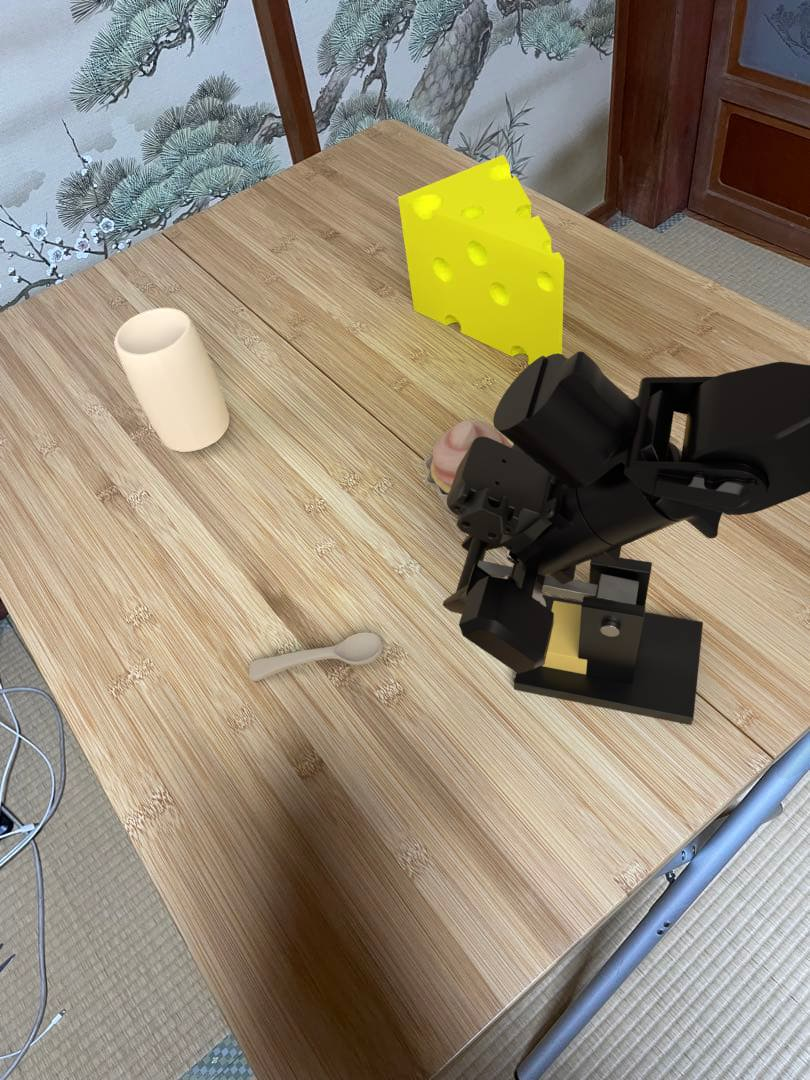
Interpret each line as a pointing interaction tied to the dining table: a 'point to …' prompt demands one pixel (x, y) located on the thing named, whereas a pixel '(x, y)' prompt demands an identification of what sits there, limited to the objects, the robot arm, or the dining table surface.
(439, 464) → the cupcake
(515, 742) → the dining table surface
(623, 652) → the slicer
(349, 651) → the spoon
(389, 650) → the dining table surface
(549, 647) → the butter
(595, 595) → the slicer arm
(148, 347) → the cup
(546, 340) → the cheese wedge
